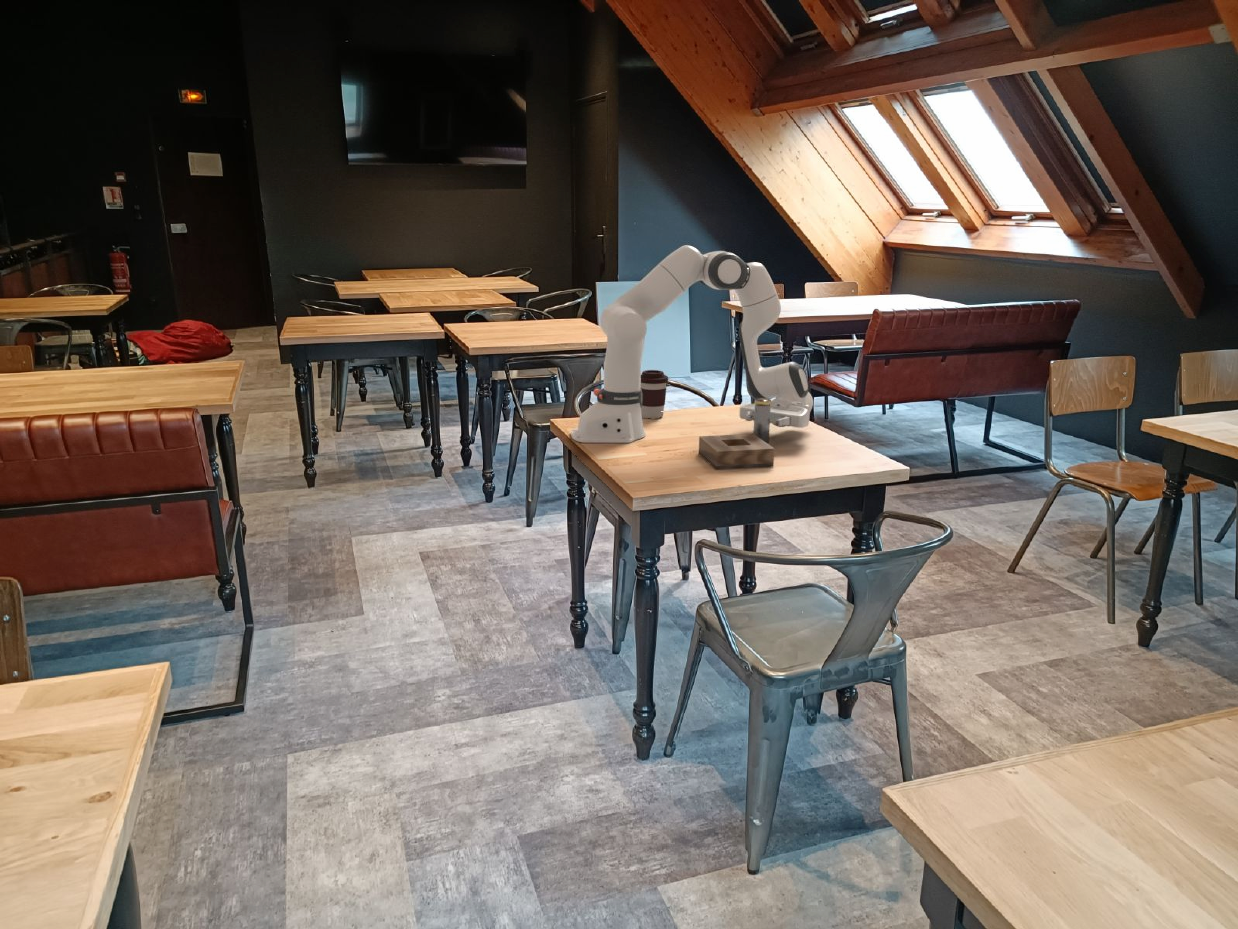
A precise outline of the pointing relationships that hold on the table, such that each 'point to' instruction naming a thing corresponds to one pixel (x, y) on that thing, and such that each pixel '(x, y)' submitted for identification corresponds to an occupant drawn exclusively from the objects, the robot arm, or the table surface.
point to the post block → (736, 451)
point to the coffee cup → (653, 393)
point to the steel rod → (762, 419)
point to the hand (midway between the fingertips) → (762, 420)
